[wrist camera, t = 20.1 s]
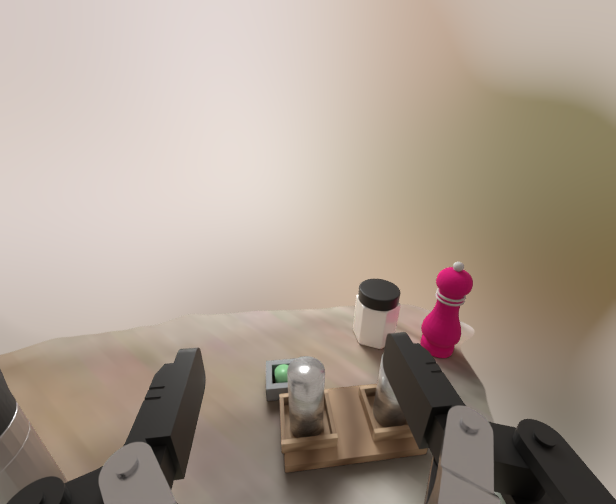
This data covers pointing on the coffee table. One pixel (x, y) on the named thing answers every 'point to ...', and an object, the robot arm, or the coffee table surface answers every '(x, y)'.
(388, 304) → the jar
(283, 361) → the grey square box
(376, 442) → the wooden tray
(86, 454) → the coffee table surface
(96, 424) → the coffee table surface
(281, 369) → the button
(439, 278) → the pepper mill
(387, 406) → the seated billet
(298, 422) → the cylinder
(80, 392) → the coffee table surface
